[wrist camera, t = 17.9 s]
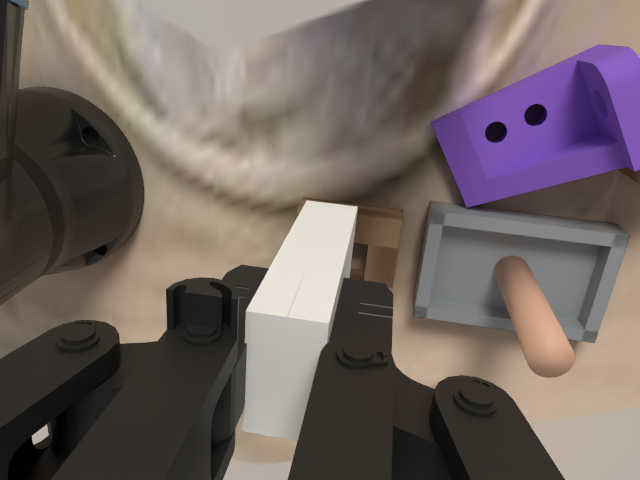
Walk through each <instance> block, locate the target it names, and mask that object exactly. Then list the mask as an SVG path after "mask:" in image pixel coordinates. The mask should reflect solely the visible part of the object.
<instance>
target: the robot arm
mask: <svg viewBox="0 0 640 480" xmlns="http://www.w3.org/2000/svg"><path fill="white" fill-rule="evenodd" d="M28 6H29V3H28V0H0V305H1V304H2V303H4V302H5V301H7V300H8V299H9V298H11V297H12V296H14V295H15V294H16V293H18V292H19V291H21V290H22V289H23V288H25V287H26V286H28V285H29V284H30V283H32V282H33V281H35V280H36V279H38V278H39V277H41V276H43V275H48V274H53V273H59V272H64V271H69V270H74V269H79V268H84V267H87V266H90V265H93V264H95V263H97V262H99V261H101V260H103V259H104V258H106V257H107V256H109V255H110V254H111V253H113V252H114V251H115V250H117V249H118V248H119V247H121V246H122V245H123V244H124V243H125V242H126V241H127V240H128V239H129V237H130V236H131V235H132V233H133V232H134V230H135V228H136V226H137V224H138V222H139V220H140V216H141V213H142V209H143V201H144V187H143V179H142V174H141V169H140V166H139V163H138V160H137V157H136V155H135V153H134V151H133V149H132V147H131V145H130V143H129V142H128V140H127V138H126V137H125V135H124V134H123V132H122V131H121V130H120V129H119V127H118V126H117V125H116V124H115V123H114V122H113V120H112V119H111V118H109V117H108V116H107V115H106V114H105V113H104V112H103V111H102V110H100V109H99V108H98V107H96V106H95V105H94V104H92V103H91V102H89V101H87V100H86V99H84V98H82V97H80V96H78V95H76V94H73V93H70V92H68V91H64V90H61V89H56V88H50V87H32V88H25V89H19V90H18V88H19V72H20V58H21V47H22V35H23V23H24V12H25V9H26V10H28ZM357 209H358V207H356V206H348V205H340V204H332V203H325V202H317V201H309V200H307V201H306V203H305V204H304V206H303V208H302V210H301V212H300V213H299V215H298V217H297V219H296V221H295V223H294V224H293V226H292V228H291V230H290V232H289V233H288V235H287V237H286V239H285V241H284V243H283V244H282V246H281V248H280V250H279V252H278V253H277V255H276V257H275V259H274V261H273V262H272V264H271V266H270V268H269V269H268V268H261V267H254V266H246V265H240V266H238V267H236V268H235V269H233V270H231V271H229V272H227V273H226V275H225V276H224V277H223V279H222V280H219V279H215V278H193V279H186V280H183V281H180V282H177V283H174V284H173V285H171V286H170V287H169V288H167V289H166V303H167V330H166V331H165V333H164V334H163V335H162V336H161V338H160V339H159V340H158V341H156V342H147V343H127V344H120V341H119V333H118V332H117V330H116V328H115V327H113V326H111V325H110V324H108V323H106V322H100V321H94V320H86V321H84V320H79V321H75V322H71V323H66V324H62V325H60V326H58V327H56V328H53V329H51V330H49V331H47V332H45V333H44V334H42V335H40V336H39V337H37V338H35V339H33V340H32V341H30V342H28V343H27V344H25V345H23V346H22V347H20V348H18V349H16V350H15V351H13V352H11V353H10V354H8V355H6V356H4V357H3V358H1V359H0V480H223V478H224V475H225V473H226V470H227V467H228V465H229V462H230V460H231V457H232V455H233V452H234V447H235V429H236V426H237V423H238V421H239V418H240V416H241V414H242V431H244V432H250V433H256V434H261V435H267V436H273V437H279V438H285V439H291V440H296V441H298V442H297V446H296V450H295V454H294V458H293V461H292V465H291V469H290V473H289V477H288V480H565V479H564V478H563V476H562V475H561V473H560V471H559V470H558V468H557V467H556V465H555V464H554V462H553V460H552V459H551V457H550V456H549V454H548V453H547V451H546V450H545V448H544V447H543V445H542V443H541V442H540V440H539V439H538V437H537V436H536V434H535V433H534V431H533V429H532V428H531V426H530V425H529V423H528V422H527V420H526V419H525V417H524V415H523V414H522V412H521V411H520V409H519V408H518V406H517V405H516V403H515V402H514V400H513V399H512V398H511V397H510V396H509V395H508V394H507V393H506V392H505V391H504V390H502V389H501V388H499V387H498V386H496V385H494V384H493V383H491V382H488V381H486V380H483V379H480V378H477V377H470V376H462V375H460V376H453V377H447V378H446V379H444V380H442V381H440V382H439V383H438V384H437V386H436V388H435V389H433V388H430V387H428V386H425V385H423V384H420V383H418V382H416V381H414V380H412V379H410V378H409V377H407V376H406V375H404V374H403V373H402V372H401V371H400V370H399V369H398V368H397V367H396V365H395V364H394V360H393V357H392V354H391V351H392V319H393V318H392V316H393V293H392V292H391V291H390V289H389V288H388V287H387V285H386V284H385V283H380V282H373V281H365V280H358V279H351V278H349V277H350V269H351V260H352V252H353V243H354V235H355V226H356V217H357ZM46 424H47V426H48V433H49V436H47V437H46V438H45V439H44V440H42V441H41V442H39V443H37V444H35V445H34V444H33V443H32V435H33V434H34V433H36V432H37V431H38V430H40V429H41V428H42V427H44V426H45V425H46Z"/></svg>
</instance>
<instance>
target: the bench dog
mask: <svg viewBox="0 0 640 480" xmlns="http://www.w3.org/2000/svg"><path fill="white" fill-rule="evenodd" d="M620 172H622V173H623V174H625V175H627V176H628V177H630V178H631V179H633V180H634V181H636V182H637V183H639V184H640V170H638V171H635V172H634V171H633V170H631V169H630V168H628V167H625V168H621V169H620Z"/></svg>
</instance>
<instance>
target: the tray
mask: <svg viewBox="0 0 640 480" xmlns="http://www.w3.org/2000/svg"><path fill="white" fill-rule="evenodd" d="M629 238H630V235H629V234H628V233H627V232H626V231H625V230H623V229H622V228H621V227H620V226H619V225H618V224H612V223H603V222H595V221H587V220H579V219H571V218H563V217H555V216H547V215H538V214H530V213H522V212H514V211H506V210H498V209H490V208H482V207H474V206H471V207H466V206H465V205H457V204H449V203H441V202H433V201H430V205H429V211H428V217H427V223H426V228H425V234H424V240H423V246H422V252H421V258H420V263H419V269H418V275H417V281H416V287H415V292H414V298H413V317H420V318H427V319H434V320H441V321H447V322H454V323H461V324H468V325H475V326H482V327H489V328H495V329H502V330H509V331H515V328H514V326H513V323H512V320H511V318H510V315H509V312H508V310H507V307H506V304H505V302H504V299H503V296H502V294H501V291H500V288H499V286H498V283H497V280H496V278H495V275H494V268H495V265H496V263H497V262H498V261H499V260H500V259H502V258H503V257H506V256H510V255H515V256H519V257H521V258H523V259H524V260H525V261H526V262H527V264H528V266H529V268H530V270H531V272H532V273H533V275H534V277H535V279H536V281H537V283H538V285H539V287H540V289H541V290H542V292H543V294H544V296H545V298H546V300H547V302H548V304H549V305H550V307H551V309H552V311H553V313H554V315H555V317H556V319H557V321H558V322H559V324H560V326H561V328H562V330H563V332H564V334H565V336H566V338H567V339H571V340H578V341H585V342H591V343H595V340H596V337H597V334H598V331H599V328H600V325H601V322H602V319H603V316H604V313H605V310H606V307H607V304H608V301H609V298H610V295H611V292H612V289H613V286H614V283H615V280H616V277H617V274H618V271H619V268H620V265H621V262H622V259H623V256H624V253H625V250H626V247H627V244H628V241H629Z"/></svg>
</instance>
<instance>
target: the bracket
mask: <svg viewBox="0 0 640 480" xmlns="http://www.w3.org/2000/svg"><path fill="white" fill-rule="evenodd" d="M533 104H541V105H543V106H544V113H543V116H542V117H541V119H540V120H539V121H538V122H536V123H535V124H532V125H528V124H527V123H526V121H525V119H524V114H525V111H526V109H527V108H528V107H529V106H531V105H533ZM493 122H501V123H503V124H504V125H505V126H506V130H505V132H504V134H503V135H502V137H500V138H499V139H497V140H495V141H488V140H487V139H486V137H485V130H486V128H487V126H488V125H489V124H491V123H493ZM431 124H432V127H433V129H434V131H435V134H436V136H437V139H438V141H439V143H440V146H441V148H442V150H443V153H444V155H445V157H446V160H447V162H448V164H449V167H450V169H451V171H452V174H453V176H454V179H455V181H456V183H457V186H458V188H459V190H460V193H461V195H462V197H463V200H464V202H465V204H466V207H471V206H475V205H479V204H483V203H487V202H491V201H495V200H499V199H503V198H507V197H511V196H515V195H519V194H523V193H527V192H531V191H534V190H538V189H542V188H546V187H550V186H554V185H558V184H562V183H566V182H570V181H574V180H578V179H582V178H586V177H590V176H594V175H598V174H601V173H605V172H609V171H613V170H617V169H621V168H625V167H628V168H630V169H631V170H633V171H634V172H635V171H638V170H640V59H639V57H638V56H637V54H636V53H635V52H634V51H633V50H632V49H631V48H629V47H624V46H612V45H600V44H599V45H597V46H595V47H592V48H590V49H588V50H586V51H584V52H581V53H579V54H577V55H575V56H573V57H571V58H568V59H566V60H564V61H562V62H560V63H558V64H555V65H553V66H551V67H549V68H547V69H544V70H542V71H540V72H538V73H536V74H534V75H531V76H529V77H527V78H525V79H523V80H521V81H518V82H516V83H514V84H512V85H510V86H507V87H505V88H503V89H501V90H499V91H497V92H494V93H492V94H490V95H488V96H486V97H484V98H481V99H479V100H477V101H475V102H473V103H470V104H468V105H466V106H464V107H462V108H460V109H457V110H455V111H453V112H451V113H449V114H447V115H444V116H442V117H440V118H438V119H436V120H433V121H431Z"/></svg>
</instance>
